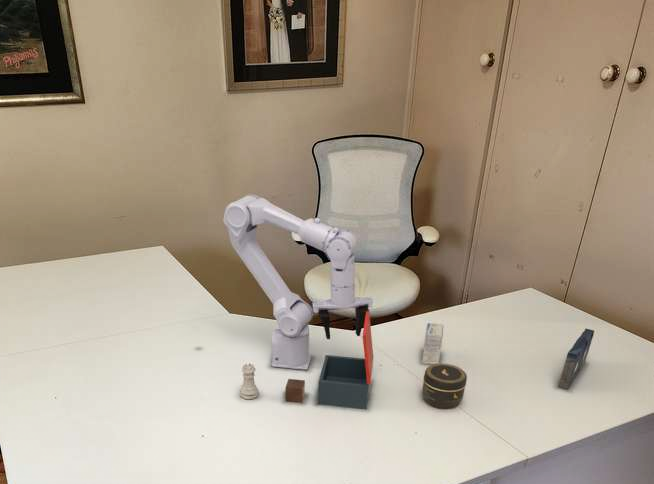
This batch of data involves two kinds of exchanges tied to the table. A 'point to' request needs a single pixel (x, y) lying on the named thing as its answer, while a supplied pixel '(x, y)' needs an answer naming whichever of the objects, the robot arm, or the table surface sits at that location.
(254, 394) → the rook chess piece
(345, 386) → the dark grey open box
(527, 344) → the table surface
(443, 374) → the jar
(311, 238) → the robot arm
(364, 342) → the lid
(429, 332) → the medicine box
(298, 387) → the block
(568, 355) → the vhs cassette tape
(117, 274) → the table surface
